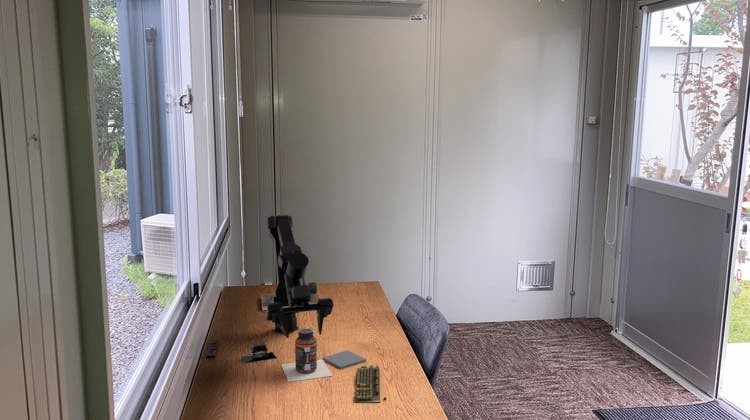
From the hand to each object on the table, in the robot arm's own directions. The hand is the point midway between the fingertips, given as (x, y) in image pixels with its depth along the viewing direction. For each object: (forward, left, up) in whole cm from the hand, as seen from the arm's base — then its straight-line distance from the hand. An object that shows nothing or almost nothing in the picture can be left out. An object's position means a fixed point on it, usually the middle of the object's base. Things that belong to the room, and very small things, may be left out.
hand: (304, 335), depth 170 cm
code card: (+1, -1, -9) cm, 10 cm away
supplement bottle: (+1, -1, -9) cm, 10 cm away
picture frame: (-39, +51, -10) cm, 65 cm away
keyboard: (+21, -1, -10) cm, 24 cm away
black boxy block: (-16, +1, -10) cm, 19 cm away
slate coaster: (+7, +10, -9) cm, 15 cm away
